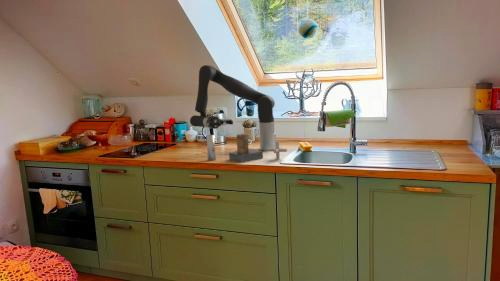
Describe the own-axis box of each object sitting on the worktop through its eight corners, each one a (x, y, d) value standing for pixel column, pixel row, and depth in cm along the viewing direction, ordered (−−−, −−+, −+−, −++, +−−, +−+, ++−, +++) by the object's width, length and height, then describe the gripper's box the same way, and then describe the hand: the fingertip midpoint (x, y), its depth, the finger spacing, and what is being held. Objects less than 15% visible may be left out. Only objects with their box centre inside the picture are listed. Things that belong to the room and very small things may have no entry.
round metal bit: (213, 158, 217) (211, 134, 215) (217, 160, 213) (216, 135, 211) (206, 160, 214) (205, 135, 212) (210, 161, 211) (209, 136, 209)
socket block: (251, 155, 222) (250, 148, 221) (262, 158, 213) (262, 151, 213) (229, 159, 213) (229, 152, 212) (241, 162, 204) (240, 155, 204)
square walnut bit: (244, 158, 215) (243, 133, 213) (248, 159, 212) (247, 134, 209) (237, 159, 212) (236, 134, 210) (242, 160, 209) (241, 135, 207)
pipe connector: (289, 157, 213) (288, 139, 211) (284, 161, 203) (283, 142, 202) (272, 156, 216) (271, 139, 215) (266, 160, 207) (265, 142, 206)
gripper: (200, 117, 229) (215, 118, 217) (220, 114, 238) (235, 115, 225) (202, 129, 231) (216, 131, 218) (221, 126, 239) (236, 128, 226)
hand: (226, 123), depth 221 cm, fingers open, 8 cm apart
